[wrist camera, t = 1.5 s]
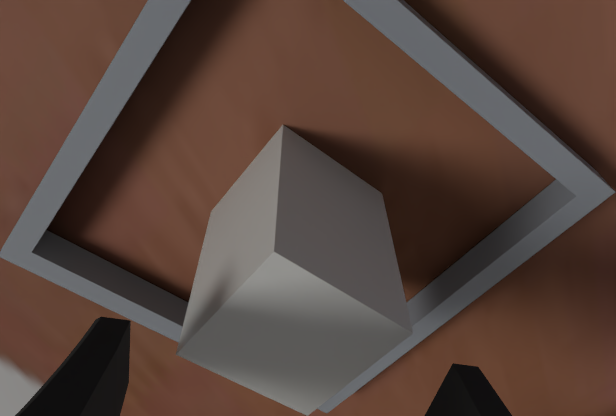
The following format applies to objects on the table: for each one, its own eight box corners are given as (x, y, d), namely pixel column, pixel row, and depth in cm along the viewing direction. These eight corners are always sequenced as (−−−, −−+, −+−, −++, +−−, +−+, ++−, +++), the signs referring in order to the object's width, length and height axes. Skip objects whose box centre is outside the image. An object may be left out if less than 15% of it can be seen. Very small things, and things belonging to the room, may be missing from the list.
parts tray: (597, 171, 17) (615, 191, 16) (326, 388, 23) (326, 413, 22) (238, -146, 12) (233, -144, 11) (14, 233, 18) (-3, 255, 17)
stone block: (382, 193, 17) (413, 332, 13) (306, 267, 19) (307, 415, 14) (282, 124, 16) (273, 251, 11) (211, 211, 18) (176, 354, 13)
